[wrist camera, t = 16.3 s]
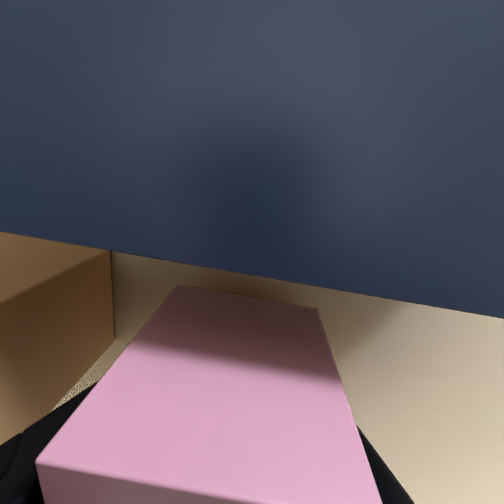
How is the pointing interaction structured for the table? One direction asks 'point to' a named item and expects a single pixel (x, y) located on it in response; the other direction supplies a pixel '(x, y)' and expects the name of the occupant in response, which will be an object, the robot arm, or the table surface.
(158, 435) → the rose box
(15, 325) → the kraft box
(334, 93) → the blue piece
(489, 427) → the table surface
